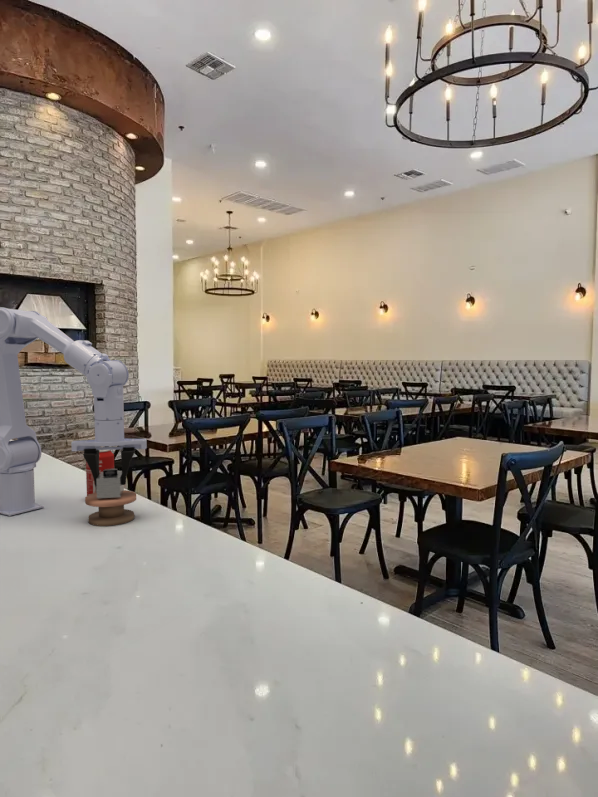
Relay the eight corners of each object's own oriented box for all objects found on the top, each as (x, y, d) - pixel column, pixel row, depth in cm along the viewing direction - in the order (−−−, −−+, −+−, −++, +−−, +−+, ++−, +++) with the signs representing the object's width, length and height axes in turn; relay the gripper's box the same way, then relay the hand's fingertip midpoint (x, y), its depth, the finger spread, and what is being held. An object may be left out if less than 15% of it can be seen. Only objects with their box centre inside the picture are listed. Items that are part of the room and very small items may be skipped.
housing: (96, 498, 108) (96, 473, 108) (101, 490, 115) (101, 467, 115) (120, 497, 109) (119, 472, 109) (124, 489, 116) (123, 466, 116)
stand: (75, 521, 111) (74, 497, 111) (115, 510, 120) (114, 488, 119) (107, 529, 106) (107, 504, 106) (146, 517, 114) (146, 493, 114)
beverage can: (119, 496, 132) (118, 447, 132) (107, 502, 126) (106, 451, 125) (94, 495, 133) (93, 447, 132) (81, 502, 127) (80, 451, 126)
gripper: (147, 416, 117) (148, 478, 118) (75, 417, 114) (77, 481, 115) (144, 419, 110) (146, 485, 111) (68, 421, 107) (70, 489, 108)
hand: (110, 484), depth 112 cm, fingers closed on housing, 5 cm apart
